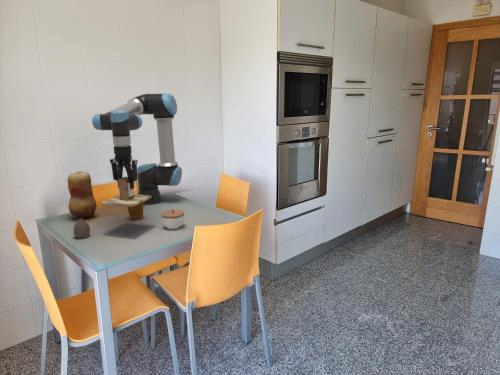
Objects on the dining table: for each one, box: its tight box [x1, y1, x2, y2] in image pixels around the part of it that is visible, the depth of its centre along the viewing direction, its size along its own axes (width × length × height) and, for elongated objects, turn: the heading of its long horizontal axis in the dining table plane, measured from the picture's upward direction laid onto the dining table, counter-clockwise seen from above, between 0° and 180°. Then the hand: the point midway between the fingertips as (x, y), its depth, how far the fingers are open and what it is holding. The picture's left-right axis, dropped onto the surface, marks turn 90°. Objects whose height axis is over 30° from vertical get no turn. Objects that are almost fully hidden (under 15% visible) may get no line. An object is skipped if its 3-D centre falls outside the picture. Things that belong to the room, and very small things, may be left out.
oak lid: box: [101, 176, 152, 208], centre depth 167 cm, size 16×16×11 cm
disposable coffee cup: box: [127, 202, 145, 222], centre depth 188 cm, size 10×10×12 cm
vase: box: [72, 218, 91, 240], centre depth 164 cm, size 7×7×9 cm
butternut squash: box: [67, 170, 98, 219], centre depth 190 cm, size 14×13×25 cm
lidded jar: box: [161, 208, 185, 230], centre depth 175 cm, size 11×11×9 cm
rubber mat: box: [102, 222, 157, 240], centre depth 172 cm, size 18×18×1 cm
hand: (126, 195), depth 168 cm, fingers closed on oak lid, 4 cm apart
